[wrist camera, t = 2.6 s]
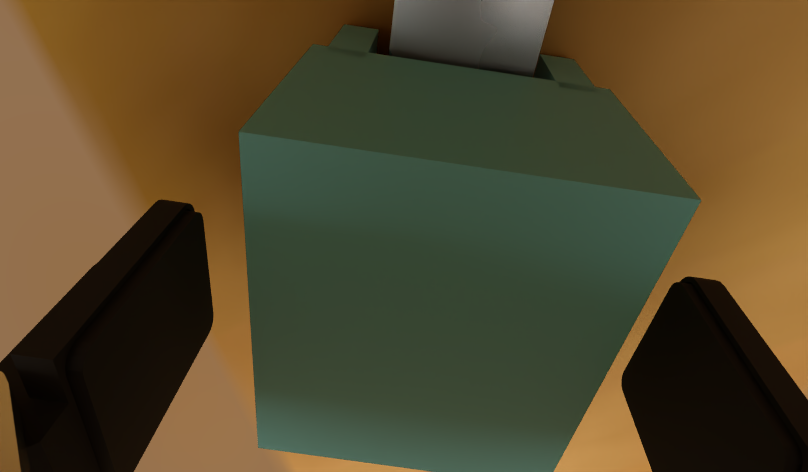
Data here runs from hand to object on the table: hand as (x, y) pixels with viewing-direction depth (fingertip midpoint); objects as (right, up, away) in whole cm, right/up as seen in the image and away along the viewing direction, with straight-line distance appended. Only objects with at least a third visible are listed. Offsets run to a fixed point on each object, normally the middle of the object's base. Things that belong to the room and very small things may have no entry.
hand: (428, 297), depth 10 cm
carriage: (0, +3, +4) cm, 5 cm away
